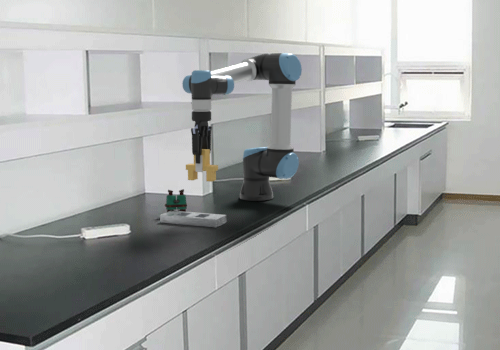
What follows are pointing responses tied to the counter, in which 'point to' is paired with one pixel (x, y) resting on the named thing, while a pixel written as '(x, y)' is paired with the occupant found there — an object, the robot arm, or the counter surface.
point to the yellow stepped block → (206, 167)
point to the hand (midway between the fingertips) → (201, 170)
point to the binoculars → (176, 201)
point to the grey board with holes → (193, 218)
